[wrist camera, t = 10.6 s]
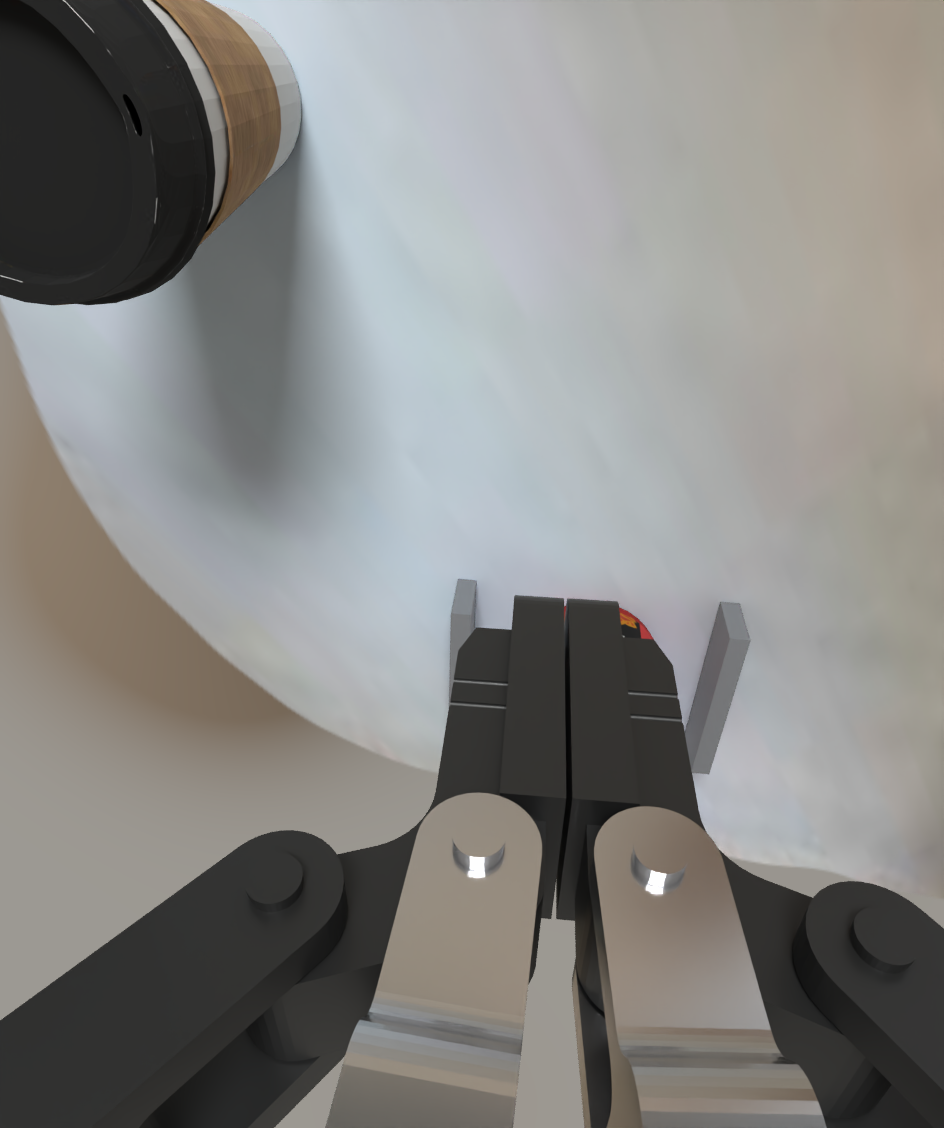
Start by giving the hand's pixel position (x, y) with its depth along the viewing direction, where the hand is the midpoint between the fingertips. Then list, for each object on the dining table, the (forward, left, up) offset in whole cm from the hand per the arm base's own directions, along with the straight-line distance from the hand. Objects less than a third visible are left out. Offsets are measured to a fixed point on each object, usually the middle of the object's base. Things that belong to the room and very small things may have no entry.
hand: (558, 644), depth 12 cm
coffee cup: (+14, -5, -25) cm, 29 cm away
